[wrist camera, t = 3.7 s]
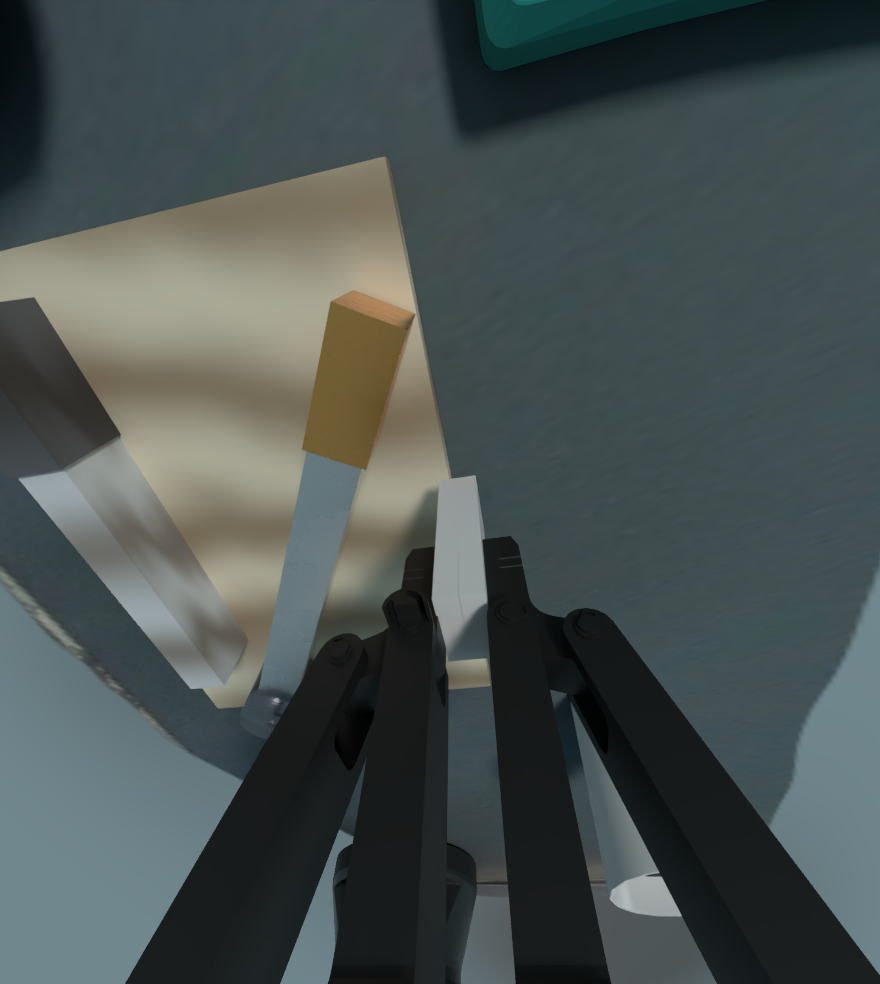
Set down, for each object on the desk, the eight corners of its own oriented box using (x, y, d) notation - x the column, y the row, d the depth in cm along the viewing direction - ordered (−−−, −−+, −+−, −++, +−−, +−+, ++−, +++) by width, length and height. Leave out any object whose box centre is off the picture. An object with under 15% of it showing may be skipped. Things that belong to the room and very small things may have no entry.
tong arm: (311, 686, 27) (293, 744, 24) (261, 674, 26) (236, 732, 23) (427, 318, 15) (420, 339, 12) (340, 285, 14) (309, 297, 11)
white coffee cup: (544, 692, 28) (583, 888, 20) (634, 653, 26) (722, 856, 17) (594, 734, 31) (648, 924, 22) (681, 701, 28) (777, 900, 20)
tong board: (489, 671, 27) (495, 737, 24) (225, 695, 30) (193, 757, 26) (389, 161, 14) (365, 133, 10) (-91, 279, 16) (-251, 290, 12)
